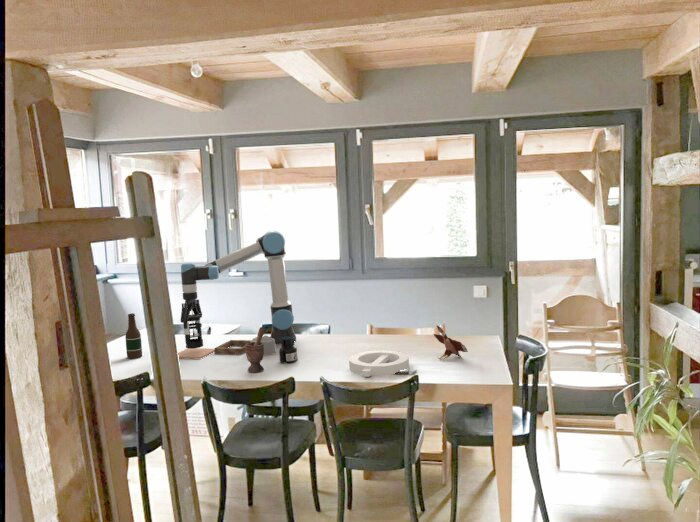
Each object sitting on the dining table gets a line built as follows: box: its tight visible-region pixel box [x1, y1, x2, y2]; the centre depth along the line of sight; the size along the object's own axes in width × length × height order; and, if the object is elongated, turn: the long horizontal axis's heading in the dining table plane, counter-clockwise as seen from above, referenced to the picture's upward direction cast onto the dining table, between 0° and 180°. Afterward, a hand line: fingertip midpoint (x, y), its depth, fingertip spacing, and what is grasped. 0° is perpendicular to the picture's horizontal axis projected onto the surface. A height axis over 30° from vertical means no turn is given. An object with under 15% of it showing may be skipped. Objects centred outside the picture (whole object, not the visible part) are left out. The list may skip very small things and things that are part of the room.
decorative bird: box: [433, 325, 468, 361], centre depth 275 cm, size 28×18×15 cm, turn 22°
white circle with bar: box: [348, 349, 410, 378], centre depth 267 cm, size 28×28×5 cm
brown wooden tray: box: [214, 339, 252, 355], centre depth 314 cm, size 16×19×3 cm
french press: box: [184, 305, 205, 349], centre depth 307 cm, size 12×9×23 cm
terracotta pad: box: [177, 347, 215, 360], centre depth 308 cm, size 18×18×1 cm
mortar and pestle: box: [245, 326, 266, 374], centre depth 271 cm, size 12×9×20 cm
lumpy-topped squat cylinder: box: [250, 334, 277, 356], centre depth 304 cm, size 10×13×9 cm
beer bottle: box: [125, 313, 143, 360], centre depth 306 cm, size 8×8×24 cm
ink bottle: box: [278, 336, 298, 364], centre depth 284 cm, size 10×9×12 cm
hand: (192, 332), depth 307 cm, fingers closed on french press, 11 cm apart
